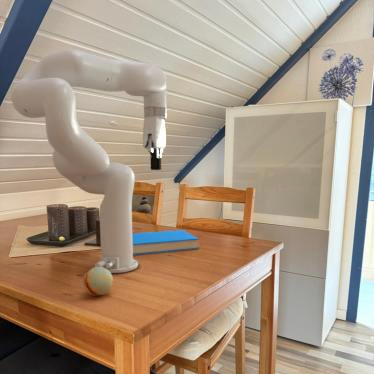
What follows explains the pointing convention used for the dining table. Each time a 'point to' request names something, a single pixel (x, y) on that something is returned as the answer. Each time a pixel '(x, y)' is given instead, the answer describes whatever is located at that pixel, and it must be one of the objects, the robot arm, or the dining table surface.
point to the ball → (98, 281)
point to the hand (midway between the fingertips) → (155, 169)
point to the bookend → (97, 240)
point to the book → (163, 242)
